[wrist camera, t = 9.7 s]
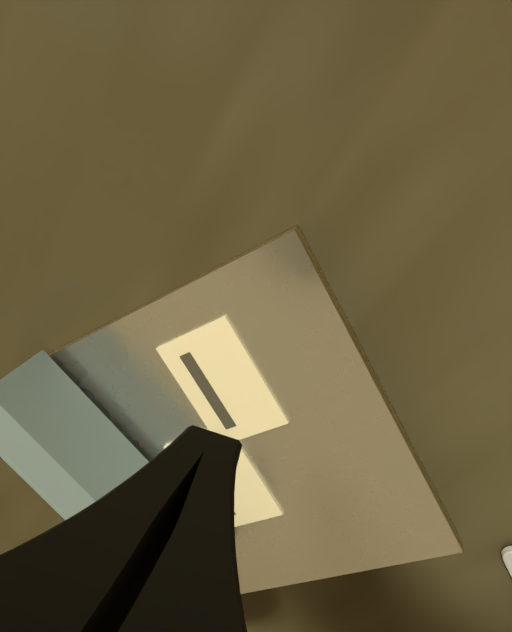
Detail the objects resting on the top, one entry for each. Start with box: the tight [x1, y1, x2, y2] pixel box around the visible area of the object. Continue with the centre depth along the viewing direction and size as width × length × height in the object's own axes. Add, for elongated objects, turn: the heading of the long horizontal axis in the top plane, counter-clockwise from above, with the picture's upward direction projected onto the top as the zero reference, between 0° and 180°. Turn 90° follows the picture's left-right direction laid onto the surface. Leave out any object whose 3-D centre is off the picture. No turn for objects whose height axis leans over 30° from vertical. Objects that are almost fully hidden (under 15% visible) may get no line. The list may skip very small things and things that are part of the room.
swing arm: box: [0, 350, 149, 520], centre depth 23 cm, size 16×4×4 cm, turn 40°
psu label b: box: [163, 426, 284, 527], centre depth 24 cm, size 6×4×1 cm, turn 30°
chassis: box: [48, 225, 463, 594], centre depth 22 cm, size 18×15×5 cm
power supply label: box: [156, 315, 289, 440], centre depth 22 cm, size 6×4×1 cm, turn 30°
